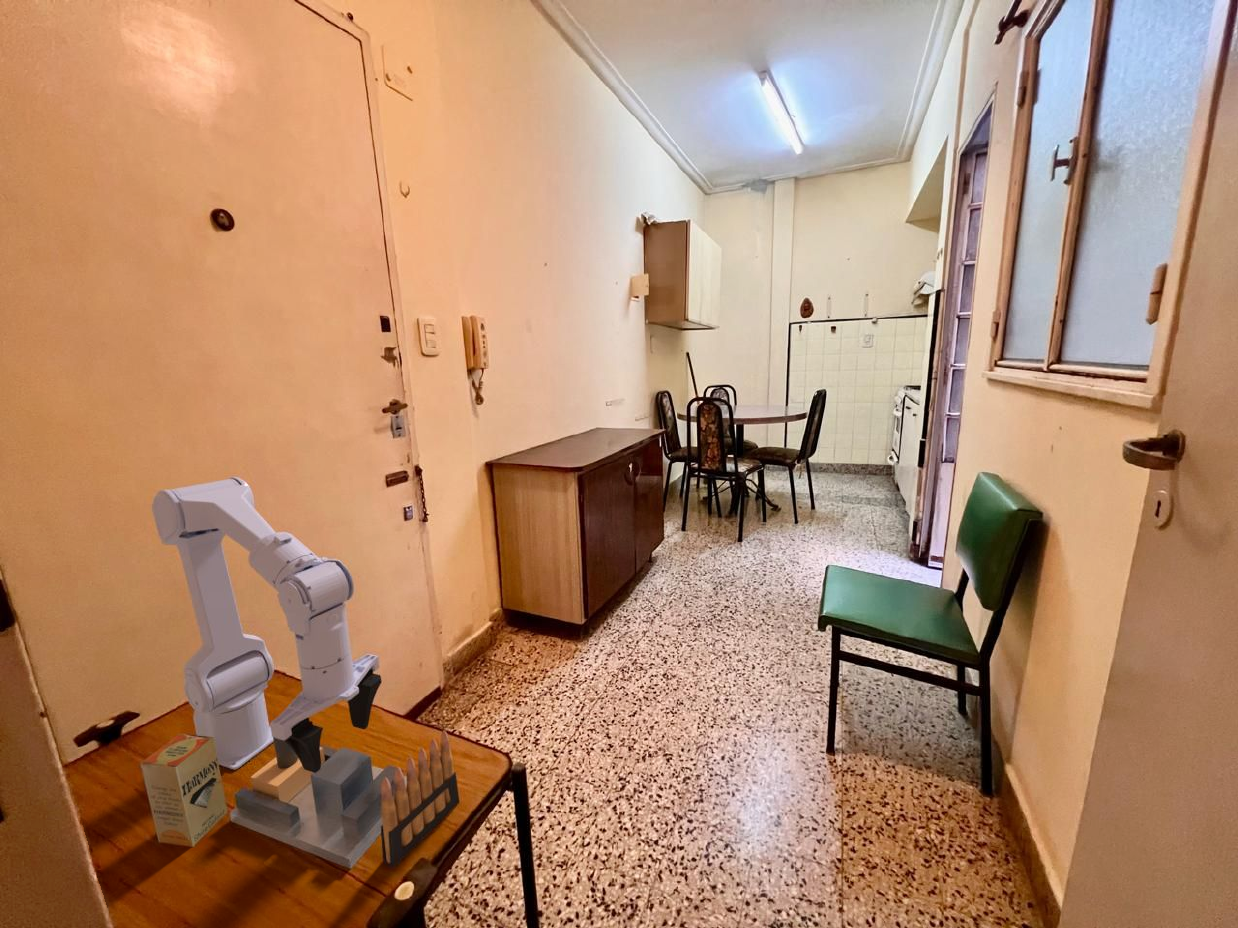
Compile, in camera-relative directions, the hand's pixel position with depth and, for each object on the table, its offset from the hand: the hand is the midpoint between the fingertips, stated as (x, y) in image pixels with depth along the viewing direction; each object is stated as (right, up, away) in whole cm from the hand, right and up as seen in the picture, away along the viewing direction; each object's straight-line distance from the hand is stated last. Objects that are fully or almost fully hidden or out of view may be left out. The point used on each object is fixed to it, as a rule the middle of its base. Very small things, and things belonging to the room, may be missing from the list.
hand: (337, 746), depth 65 cm
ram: (-9, -8, +5) cm, 13 cm away
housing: (0, -9, +2) cm, 9 cm away
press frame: (-3, -10, +3) cm, 11 cm away
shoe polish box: (-19, -11, 0) cm, 22 cm away
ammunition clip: (+12, -11, 0) cm, 16 cm away
